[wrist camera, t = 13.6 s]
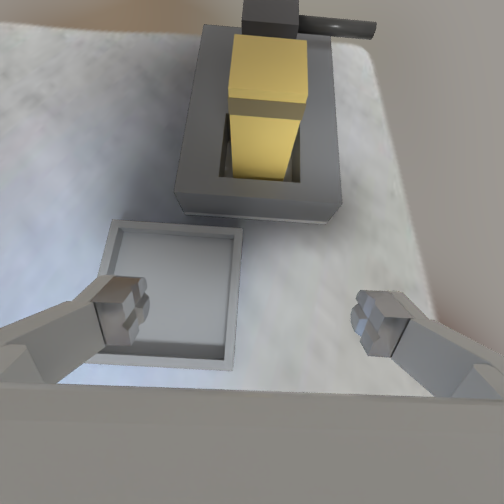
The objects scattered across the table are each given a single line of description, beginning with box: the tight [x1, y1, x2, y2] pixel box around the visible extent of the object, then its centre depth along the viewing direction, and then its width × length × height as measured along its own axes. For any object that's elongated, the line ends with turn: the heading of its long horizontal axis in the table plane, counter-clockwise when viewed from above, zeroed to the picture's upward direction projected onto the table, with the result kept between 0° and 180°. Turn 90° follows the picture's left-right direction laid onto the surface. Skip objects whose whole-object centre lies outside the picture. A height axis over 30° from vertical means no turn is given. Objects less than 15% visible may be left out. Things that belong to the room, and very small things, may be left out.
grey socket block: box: [174, 0, 377, 224], centre depth 19 cm, size 14×18×8 cm
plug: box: [228, 34, 308, 182], centre depth 17 cm, size 4×4×9 cm
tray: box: [84, 219, 243, 371], centre depth 17 cm, size 10×10×1 cm
